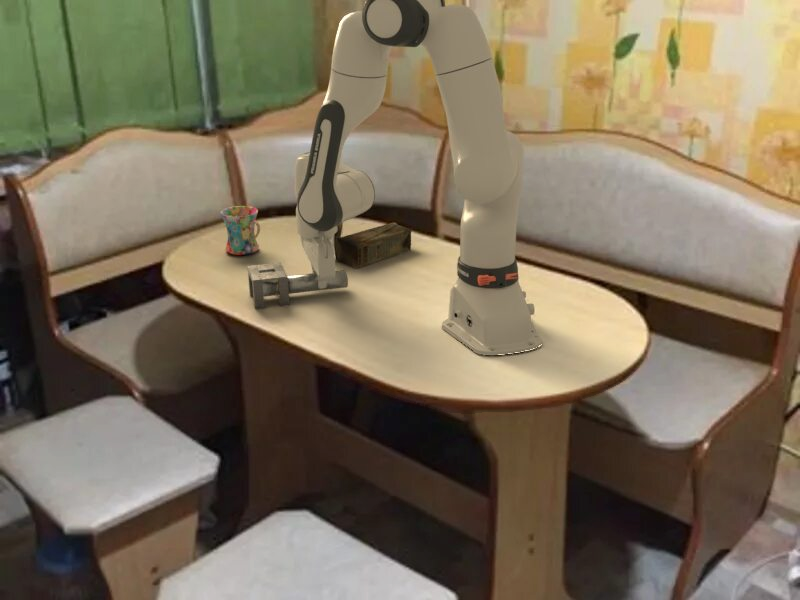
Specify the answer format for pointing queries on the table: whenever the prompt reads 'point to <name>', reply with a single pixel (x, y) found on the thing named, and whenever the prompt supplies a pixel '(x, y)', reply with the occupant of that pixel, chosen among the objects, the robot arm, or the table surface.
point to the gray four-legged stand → (258, 278)
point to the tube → (306, 283)
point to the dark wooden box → (373, 245)
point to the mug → (241, 229)
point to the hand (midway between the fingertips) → (319, 282)
